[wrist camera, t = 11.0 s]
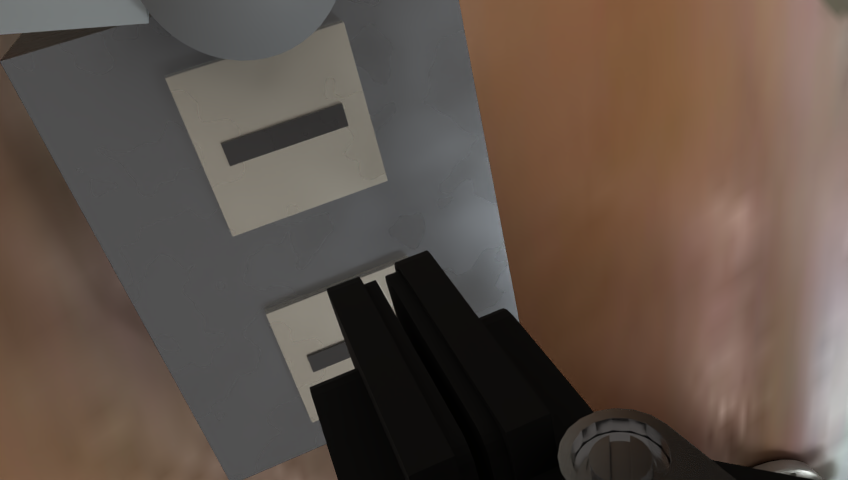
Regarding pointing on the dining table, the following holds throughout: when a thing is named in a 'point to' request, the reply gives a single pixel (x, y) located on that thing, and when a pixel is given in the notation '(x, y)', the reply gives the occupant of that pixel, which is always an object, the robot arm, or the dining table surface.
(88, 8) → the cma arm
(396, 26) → the chassis
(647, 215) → the dining table surface
